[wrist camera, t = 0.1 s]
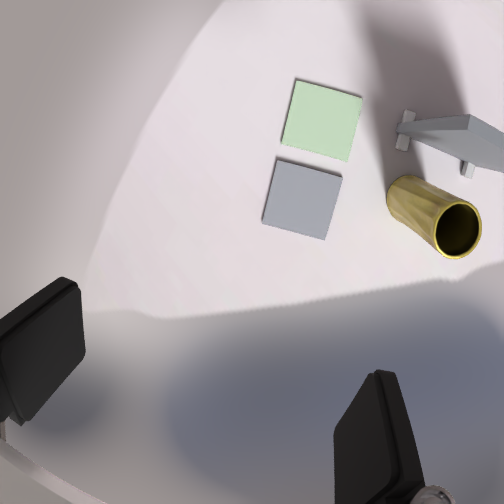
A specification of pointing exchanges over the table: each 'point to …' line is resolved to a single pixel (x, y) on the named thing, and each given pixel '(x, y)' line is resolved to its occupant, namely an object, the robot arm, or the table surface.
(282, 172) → the pad slate
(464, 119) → the screen
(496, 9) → the table surface
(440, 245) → the vase
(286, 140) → the pad sage
